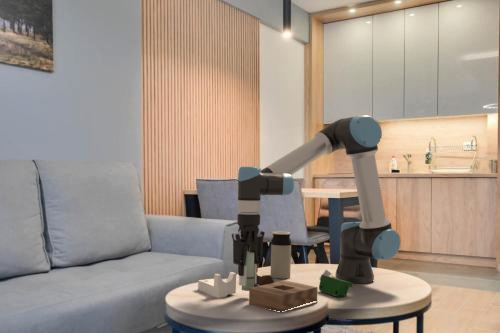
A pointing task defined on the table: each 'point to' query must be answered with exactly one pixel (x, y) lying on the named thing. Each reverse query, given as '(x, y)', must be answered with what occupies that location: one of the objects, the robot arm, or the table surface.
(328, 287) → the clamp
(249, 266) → the peg
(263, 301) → the board
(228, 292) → the bracket
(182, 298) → the table surface
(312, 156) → the robot arm
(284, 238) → the travel mug
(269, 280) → the bolt
